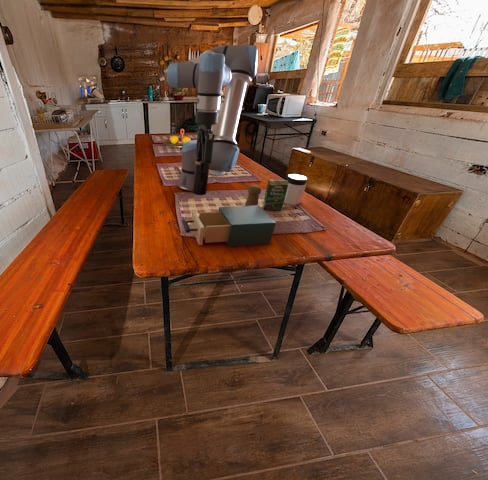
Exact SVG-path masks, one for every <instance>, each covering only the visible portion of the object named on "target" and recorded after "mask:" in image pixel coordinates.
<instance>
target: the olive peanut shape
mask: <svg viewBox="0 0 488 480" xmlns="http://www.w3.org/2000/svg"><path fill="white" fill-rule="evenodd" d="M247 191H248V195H247V198H246V200H245V203H244V206H256V205H259V198H260V195H261V193H262V192H261V191H262V187H261V186H259V185H256V184H253V185H250V186H249V187H248V189H247Z"/></svg>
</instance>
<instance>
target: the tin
mask: <svg viewBox="0 0 488 480" xmlns="http://www.w3.org/2000/svg"><path fill="white" fill-rule="evenodd" d="M200 163H202V159H196V160H195V174H194V187H193V192H192V193H193V194H194V195H196V196H205V195H207V190H208V182H209V175H208V176H207V182H200V181H199V179H200V168H201V164H200ZM209 171H210V170H209V167H208V174H210V173H209Z"/></svg>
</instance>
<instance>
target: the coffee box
mask: <svg viewBox="0 0 488 480" xmlns="http://www.w3.org/2000/svg"><path fill="white" fill-rule="evenodd" d="M288 184H289V182H288V181H287V179H286V180H285V179H281V180H280V179H268V181H267V185H266V189H265V195H264V199H263V203H262V209H263V210H266V211H267V210H268V211H281V212H282V210H283V207H284V204H285V203H284V200H285V196H286V192H287V188H288Z"/></svg>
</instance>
